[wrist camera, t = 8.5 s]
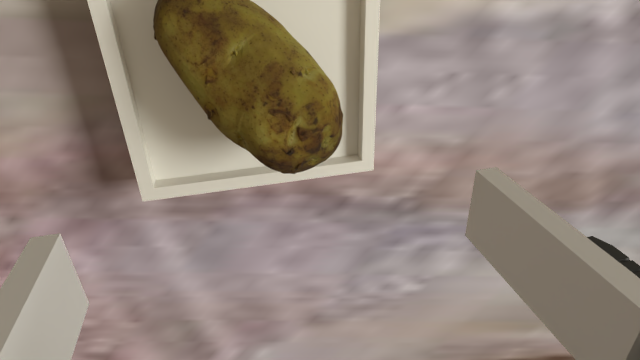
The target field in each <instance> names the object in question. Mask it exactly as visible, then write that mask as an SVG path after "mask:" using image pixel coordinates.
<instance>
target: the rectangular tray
mask: <svg viewBox="0 0 640 360" xmlns="http://www.w3.org/2000/svg"><path fill="white" fill-rule="evenodd" d="M157 1H158V0H87V2H88V5H89V9H90V13H91V16H92V20H93V23H94V27H95V31H96V34H97V38H98V42H99V45H100V49H101V52H102V56H103V60H104V63H105V67H106V70H107V74H108V78H109V81H110V85H111V89H112V92H113V96H114V99H115V103H116V107H117V110H118V114H119V117H120V121H121V125H122V128H123V132H124V136H125V139H126V143H127V146H128V150H129V154H130V157H131V161H132V165H133V168H134V172H135V175H136V179H137V183H138V186H139V190H140V193H141V197H142V201H151V200H158V199H165V198H173V197H180V196H188V195H195V194H202V193H210V192H217V191H224V190H232V189H239V188H246V187H254V186H261V185H268V184H276V183H283V182H291V181H298V180H305V179H313V178H320V177H327V176H335V175H342V174H349V173H357V172H364V171H371V170H373V168H374V143H375V118H376V93H377V69H378V44H379V19H380V0H250V1H252V2H254V3H256V4H257V5H259V6H260V7H261V8H263V9H264V10H265V11H266V12H268V13H269V14H270V15H271V16H273V17H274V18H275V19H276V20H277V21H278V22H280V23H281V24H282V25H283V26H284V27H285V29H286V30H287V31H288V32H289V33H290V34H291V35H292V36H293V37H294V38H295V39H296V40H297V41H298V42H299V43H300V44H301V45H302V46H303V47H304V48H305V49H306V50H307V51H308V52H309V53H310V55H311V56H312V57H313V58H314V60H315V61H316V62H317V64H318V65H319V66H320V67H321V69H322V70H323V71H324V73H325V74H326V75H327V76H328V78H329V79H330V80H331V82H332V83H333V85H334V87H335V89H336V91H337V94H338V97H339V100H340V105H341V110H342V113H343V125H342V138H341V141H340V144H339V146H338V147H337V149H336V151H335V152H334V153H333V154H332V156H330V157H329V158H328V159H327V160H325V161H324V162H322V163H320V164H318V165H317V166H315V167H313V168H311V169H309V170H306V171H303V172H299V173H295V174H283V173H281V172H278V171H275V170H272V169H270V168H268V167H267V166H265V165H264V164H262V163H261V162H260V161H258V160H257V159H256V158H255V157H254V156H253V155H252V154H251V153H250V152H249V151H247V150H246V149H244V148H242V147H240V146H239V145H237V144H235V143H233V142H232V141H231V140H230V139H228V138H227V137H226V136H225V135H224V134H223V133H221V132H220V131H219V130H218V129H217V128H216V126H215V125H214V124H213V122H212V121H211V120H209V119H208V117H207V114H206V113H205V112H204V110H203V109H202V108H201V106H200V105H199V104H198V102H197V101H196V100H195V98H194V97H193V95H192V94H191V93H190V91H189V90H188V89H187V87H186V86H185V85H184V83H183V82H182V80H181V79H180V77H179V76H178V74H177V73H176V71H175V70H174V68H173V67H172V66H171V64H170V63H169V61H168V60H167V58H166V56H165V55H164V53H163V52H162V50H161V48H160V46H159V44H158V41H157V40H155V39H154V28H153V18H154V11H155V6H156V4H157Z"/></svg>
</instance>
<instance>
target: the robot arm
mask: <svg viewBox="0 0 640 360" xmlns="http://www.w3.org/2000/svg"><path fill="white" fill-rule="evenodd" d="M465 236H466V237H467V238H468V239H469V240H470V241H471V242H472V243H473V245H474V246H475V247H476V248H477V249H478V250H479V251H480V252H481V254H482V255H483V256H484V257H485V258H486V259H487V260H488V261H489V263H490V264H491V265H492V266H493V267H494V268H495V269H496V270H497V272H498V273H499V274H500V275H501V276H502V277H503V278H504V279H505V281H506V282H507V283H508V284H509V285H510V286H511V287H512V288H513V290H514V291H515V292H516V293H517V294H518V295H519V296H520V297H521V299H522V300H523V301H524V302H525V303H526V304H527V305H528V306H529V308H530V309H531V310H532V311H533V312H534V313H535V314H536V315H537V317H538V318H539V319H540V320H541V321H542V322H543V323H544V324H545V326H546V327H547V328H548V329H549V330H550V331H551V332H552V333H553V335H554V336H555V337H556V338H557V339H558V340H559V341H560V343H561V344H562V345H563V346H564V347H565V348H566V349H567V350H568V352H569V353H570V354H571V355H572V356H573V357H574V358H575V359H576V360H640V266H639V265H638V264H637V263H635V262H634V261H633V260H632V261H630V260H629V257H627V256H626V255H625V254H623V253H622V252H621V251H619V250H618V249H616V248H615V247H614V246H612V245H610V244H608V243H606V242H604V241H602V240H599V239H597V238H595V237H593V236H591V237H586V236H584V235H583V234H582V233H581V232H579V231H578V230H577V229H575V228H574V227H573V226H571V225H570V224H569V223H568V222H566V221H565V220H564V219H562V218H561V217H560V216H559V215H557V214H556V213H555V212H553V211H552V210H551V209H549V208H548V207H547V206H546V205H544V204H543V203H542V202H540V201H539V200H538V199H537V198H535V197H534V196H533V195H531V194H530V193H529V192H527V191H526V190H525V189H524V188H522V187H521V186H520V185H518V184H517V183H516V182H515V181H513V180H512V179H511V178H509V177H508V176H507V175H505V174H504V173H503V172H502V171H500V170H499V169H498V168H496V167H495V168H489V169H482V170H476V174H475V180H474V186H473V192H472V198H471V204H470V210H469V216H468V222H467V228H466V234H465ZM88 305H89V302H88V299H87V297H86V295H85V292H84V290H83V287H82V285H81V283H80V280H79V278H78V275H77V273H76V270H75V268H74V266H73V263H72V261H71V258H70V256H69V254H68V251H67V249H66V246H65V244H64V242H63V239H62V237H61V234H60V233H59V234H53V235H46V236H40V237H33V238H30V240H29V241H28V243H27V245H26V247H25V248H24V250H23V252H22V253H21V255H20V257H19V258H18V260H17V262H16V263H15V265H14V267H13V268H12V270H11V272H10V274H9V275H8V277H7V279H6V280H5V282H4V284H3V285H2V287H1V289H0V360H71V358H72V355H73V352H74V349H75V346H76V343H77V340H78V337H79V333H80V330H81V327H82V324H83V321H84V318H85V315H86V312H87V309H88Z"/></svg>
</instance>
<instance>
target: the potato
mask: <svg viewBox="0 0 640 360" xmlns="http://www.w3.org/2000/svg"><path fill="white" fill-rule="evenodd" d="M153 28H154V39H155V40H157V41H158V44H159V46H160V48H161V50H162V52H163V53H164V55H165V56H166V58H167V60H168V61H169V63H170V64H171V66H172V67H173V68H174V70H175V71H176V73H177V74H178V76H179V77H180V79H181V80H182V82H183V83H184V85H185V86H186V87H187V89H188V90H189V91H190V93H191V94H192V95H193V97H194V98H195V100H196V101H197V102H198V104H199V105H200V106H201V108H202V109H203V110H204V112H205V113H206V114H207V117H208V119H209V120H211V121H212V122H213V124H214V125H215V126H216V128H217V129H218V130H219V131H220V132H221V133H223V134H224V135H225V136H226V137H227V138H228V139H230V140H231V141H232V142H233V143H235V144H237V145H239V146H240V147H242V148H244V149H246V150H247V151H249V152H250V153H251V154H252V155H253V156H254V157H255V158H256V159H257V160H258V161H260V162H261V163H262V164H264V165H265V166H267V167H268V168H270V169H272V170H275V171H278V172H281V173H283V174H295V173H299V172H303V171H306V170H309V169H311V168H313V167H315V166H317V165H318V164H320V163H322V162H324V161H325V160H327V159H328V158H329V157H330V156H332V154H333V153H334V152H335V151H336V149H337V147H338V146H339V144H340V141H341V138H342V125H343V113H342V110H341V105H340V100H339V97H338V94H337V91H336V89H335V87H334V85H333V83H332V82H331V80H330V79H329V78H328V76H327V75H326V74H325V73H324V71H323V70H322V69H321V67H320V66H319V65H318V64H317V62H316V61H315V60H314V58H313V57H312V56H311V55H310V53H309V52H308V51H307V50H306V49H305V48H304V47H303V46H302V45H301V44H300V43H299V42H298V41H297V40H296V39H295V38H294V37H293V36H292V35H291V34H290V33H289V32H288V31H287V30H286V29H285V27H284V26H283V25H282V24H281V23H280V22H278V21H277V20H276V19H275V18H274V17H273V16H271V15H270V14H269V13H268V12H266V11H265V10H264V9H263V8H261V7H260V6H259V5H257V4H256V3H254V2H252V1H250V0H158V1H157V4H156V6H155V11H154V18H153Z"/></svg>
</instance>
